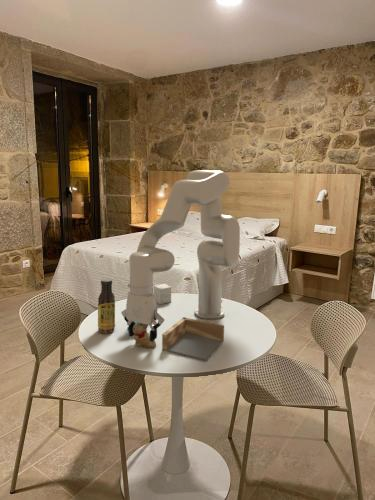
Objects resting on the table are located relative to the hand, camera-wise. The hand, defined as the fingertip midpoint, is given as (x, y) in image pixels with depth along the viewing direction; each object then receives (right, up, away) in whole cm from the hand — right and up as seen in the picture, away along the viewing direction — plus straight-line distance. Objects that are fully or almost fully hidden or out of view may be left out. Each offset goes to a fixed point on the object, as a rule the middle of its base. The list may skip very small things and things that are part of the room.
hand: (142, 337), depth 127 cm
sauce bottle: (-15, 0, +11) cm, 19 cm away
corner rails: (+18, -3, +1) cm, 18 cm away
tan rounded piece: (+1, -3, +1) cm, 3 cm away
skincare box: (+4, +6, +43) cm, 43 cm away
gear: (-4, 0, +13) cm, 13 cm away
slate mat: (+18, -3, +1) cm, 18 cm away
